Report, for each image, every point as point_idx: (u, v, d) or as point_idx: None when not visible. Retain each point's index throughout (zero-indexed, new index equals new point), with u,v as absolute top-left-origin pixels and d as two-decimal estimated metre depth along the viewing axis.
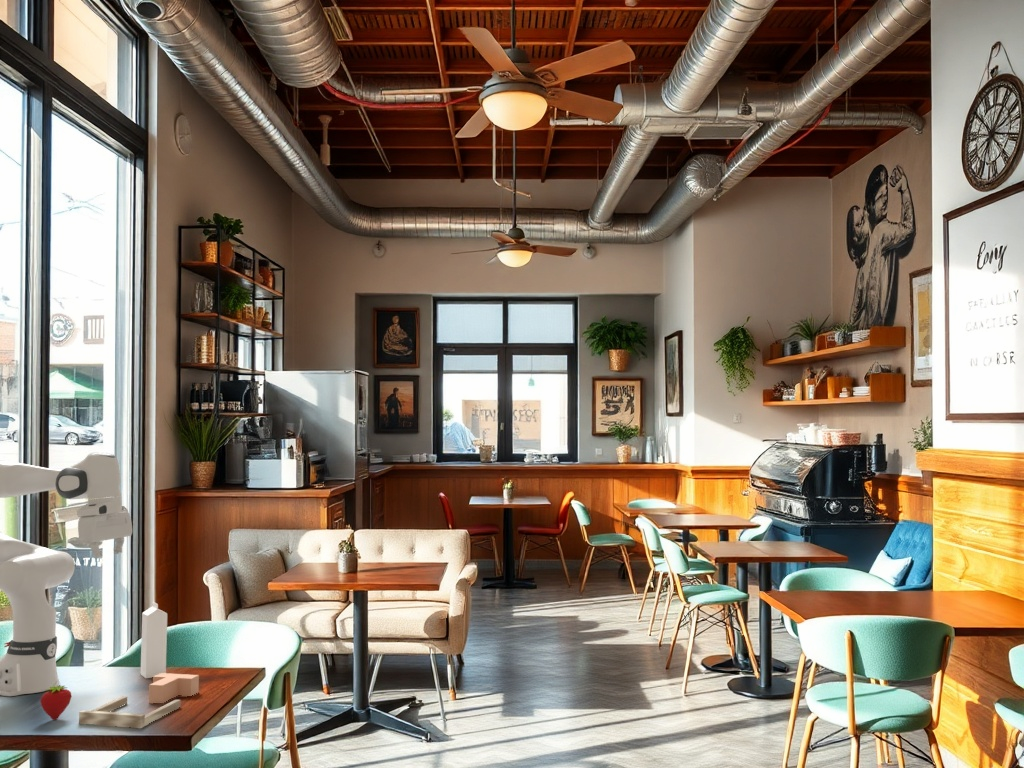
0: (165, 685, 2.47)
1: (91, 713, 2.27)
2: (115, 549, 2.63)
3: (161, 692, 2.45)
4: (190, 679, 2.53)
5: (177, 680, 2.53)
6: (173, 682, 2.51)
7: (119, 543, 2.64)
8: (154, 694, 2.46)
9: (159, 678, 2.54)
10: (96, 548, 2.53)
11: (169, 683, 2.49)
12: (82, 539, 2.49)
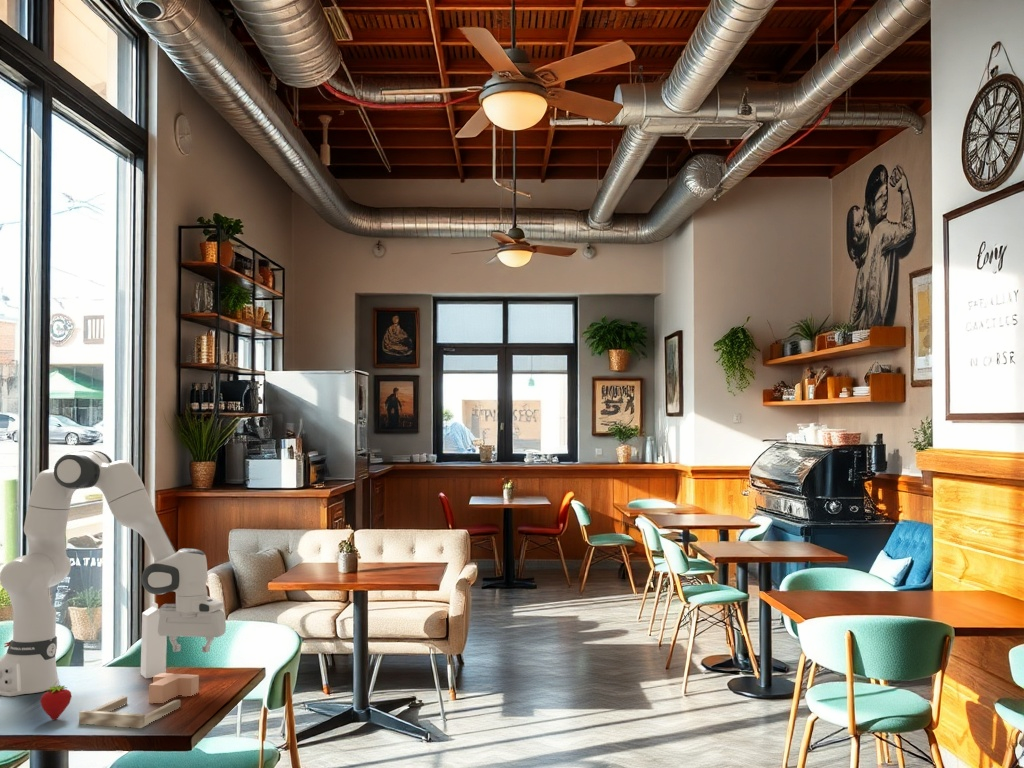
0: (165, 685, 2.47)
1: (91, 713, 2.27)
2: (178, 646, 2.63)
3: (161, 692, 2.45)
4: (190, 679, 2.53)
5: (177, 680, 2.53)
6: (173, 682, 2.51)
7: (175, 641, 2.64)
8: (154, 694, 2.46)
9: (159, 678, 2.54)
10: (211, 642, 2.62)
11: (169, 683, 2.49)
12: (221, 632, 2.60)
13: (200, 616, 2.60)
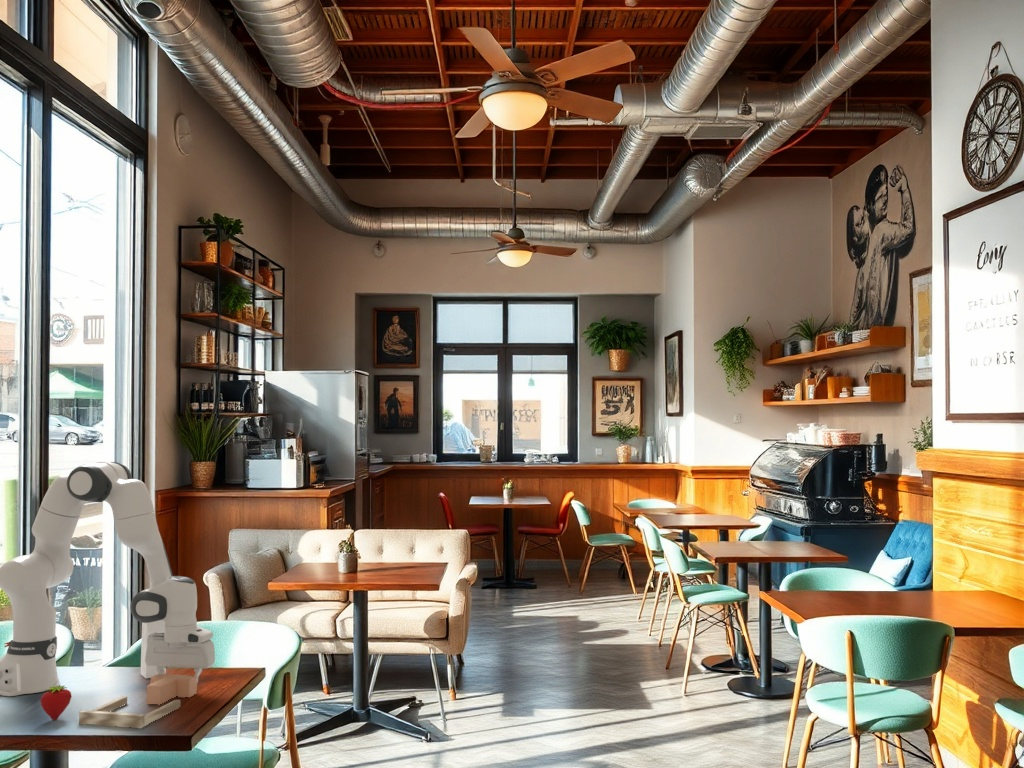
0: (163, 686, 2.46)
1: (91, 713, 2.27)
2: None
3: (159, 693, 2.44)
4: (188, 680, 2.51)
5: (175, 681, 2.51)
6: (171, 683, 2.50)
7: (162, 671, 2.58)
8: (152, 695, 2.44)
9: (157, 679, 2.53)
10: None
11: (167, 684, 2.48)
12: (210, 663, 2.55)
13: (189, 646, 2.54)
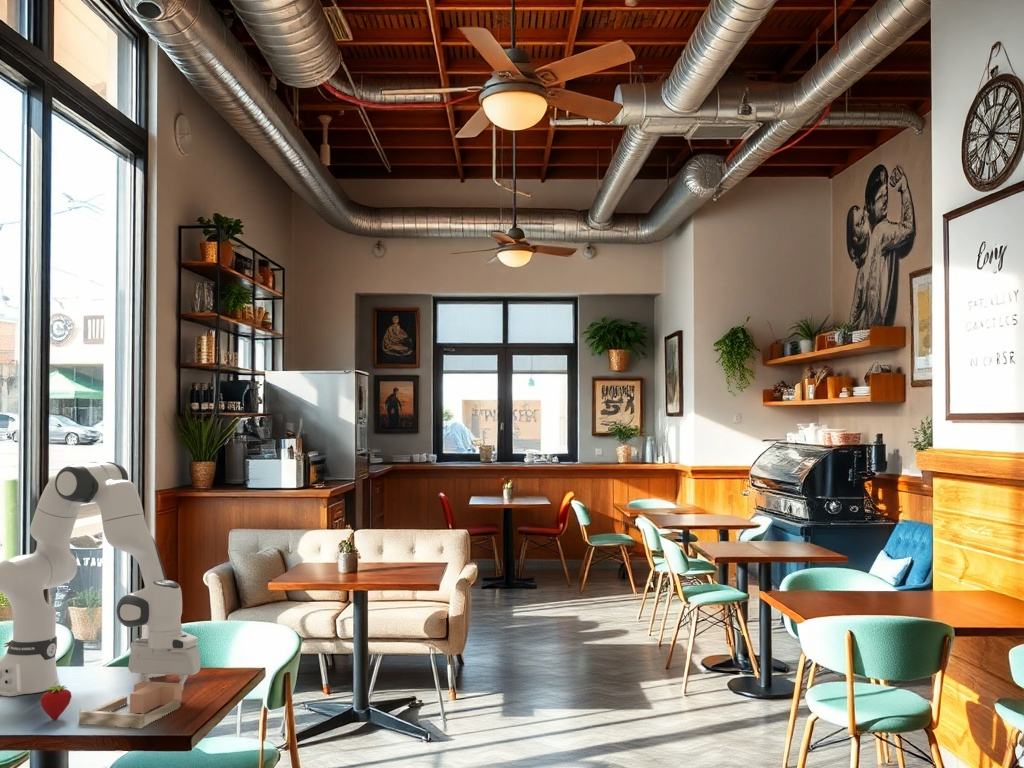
0: (147, 694, 2.38)
1: (91, 713, 2.27)
2: None
3: (142, 702, 2.36)
4: (173, 688, 2.44)
5: (159, 689, 2.44)
6: (155, 691, 2.42)
7: (146, 678, 2.50)
8: (135, 704, 2.36)
9: (140, 687, 2.45)
10: (185, 680, 2.49)
11: (151, 692, 2.40)
12: (195, 670, 2.47)
13: (174, 652, 2.47)
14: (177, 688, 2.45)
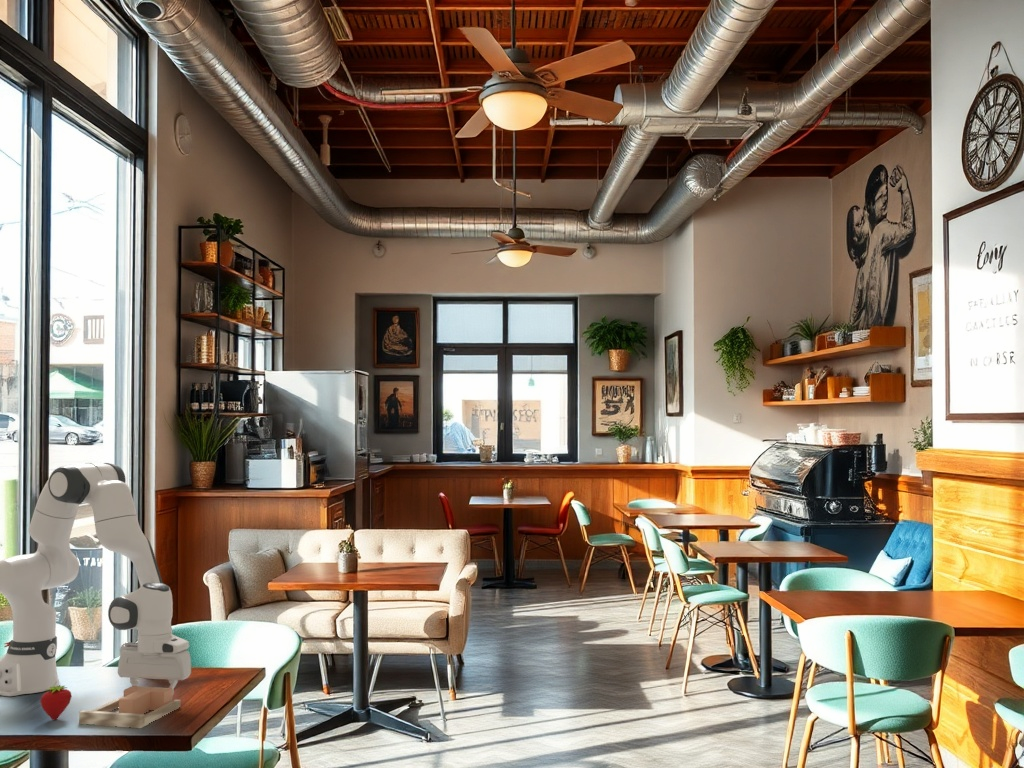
0: (136, 699, 2.33)
1: (91, 713, 2.27)
2: None
3: (131, 707, 2.31)
4: (163, 693, 2.39)
5: (149, 694, 2.39)
6: (145, 696, 2.37)
7: (136, 682, 2.46)
8: (124, 709, 2.32)
9: (130, 692, 2.40)
10: (175, 684, 2.44)
11: (140, 697, 2.35)
12: (186, 675, 2.42)
13: (164, 657, 2.42)
14: (167, 693, 2.40)
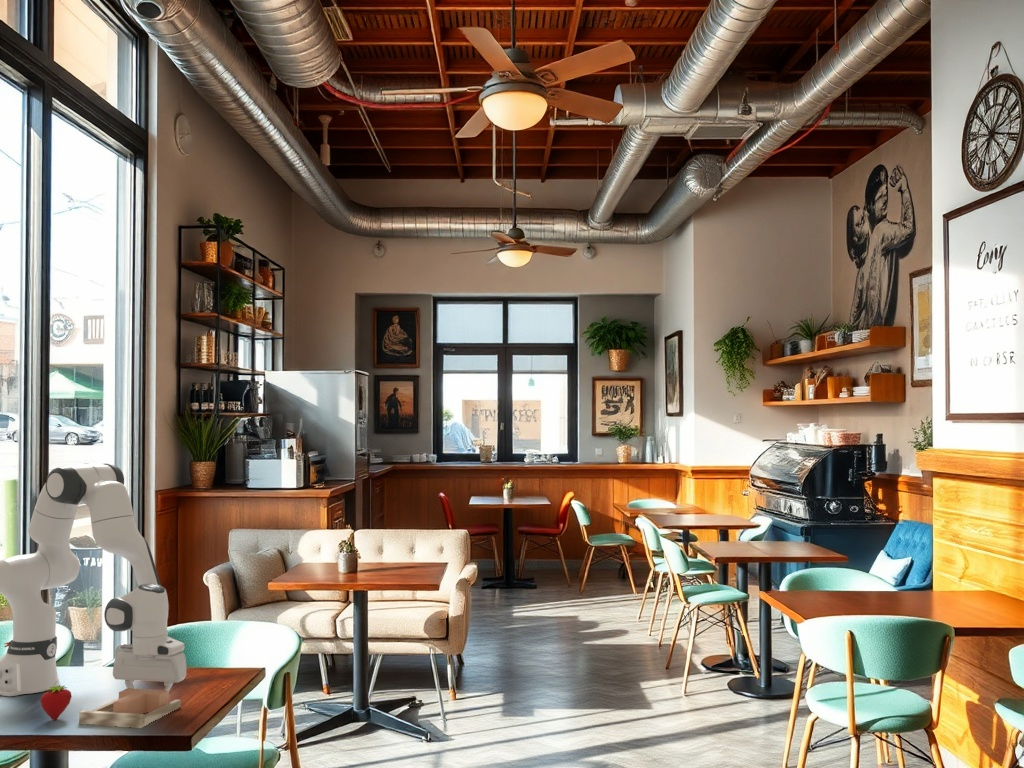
0: (131, 702, 2.31)
1: (91, 713, 2.27)
2: None
3: (126, 709, 2.29)
4: (158, 695, 2.37)
5: (144, 696, 2.37)
6: (140, 698, 2.35)
7: (131, 684, 2.44)
8: (118, 712, 2.30)
9: (125, 694, 2.38)
10: (170, 687, 2.42)
11: (135, 700, 2.33)
12: (181, 677, 2.40)
13: (159, 659, 2.40)
14: (163, 695, 2.38)
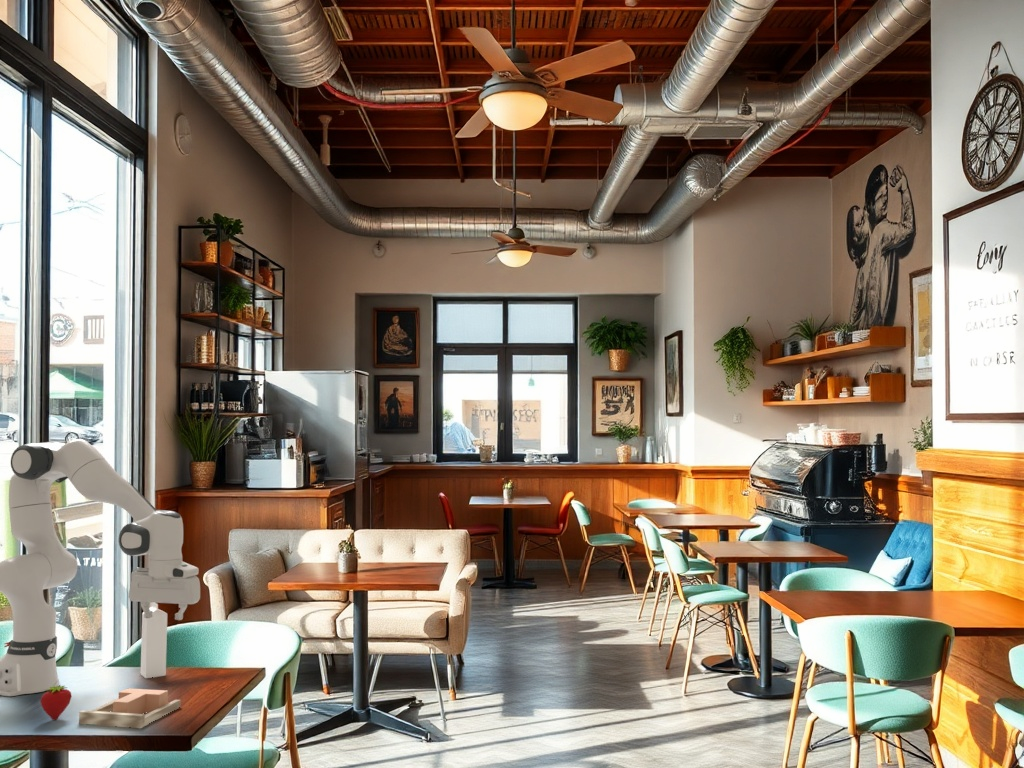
0: (131, 702, 2.31)
1: (91, 713, 2.27)
2: (149, 613, 2.50)
3: (126, 709, 2.29)
4: (158, 695, 2.37)
5: (144, 696, 2.37)
6: (140, 698, 2.35)
7: (146, 607, 2.51)
8: (118, 712, 2.30)
9: (125, 694, 2.38)
10: (184, 609, 2.50)
11: (135, 700, 2.33)
12: (195, 599, 2.48)
13: (174, 581, 2.47)
14: (163, 695, 2.38)
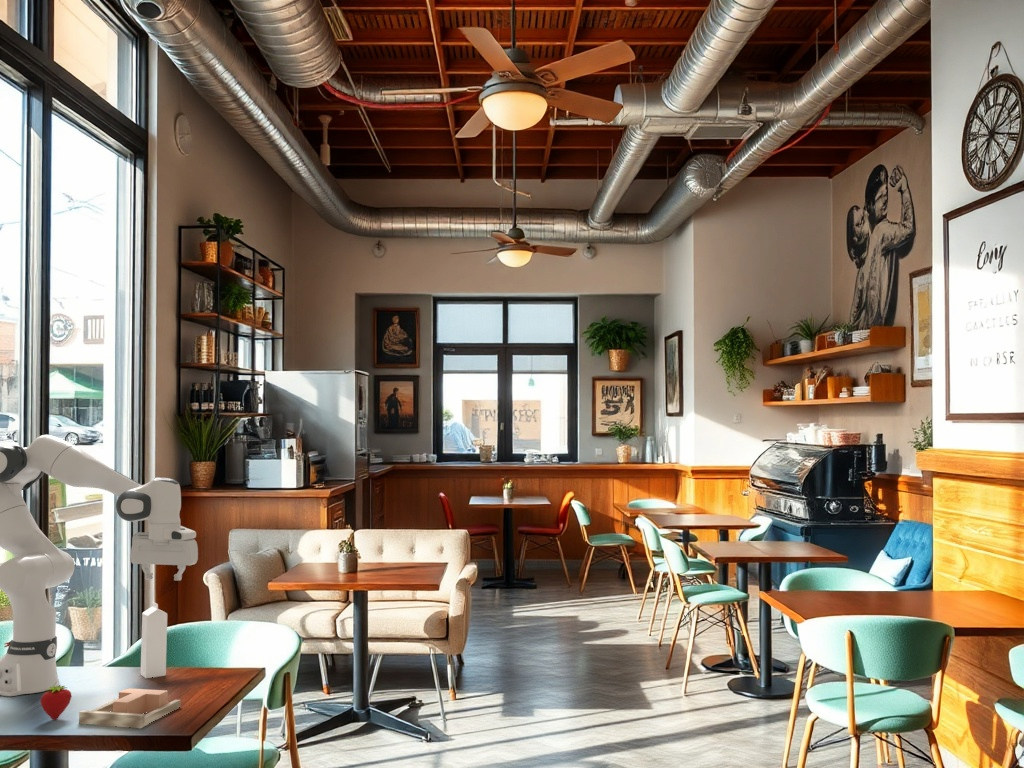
0: (131, 702, 2.31)
1: (91, 713, 2.27)
2: (150, 575, 2.64)
3: (126, 710, 2.29)
4: (158, 695, 2.37)
5: (144, 696, 2.37)
6: (140, 698, 2.35)
7: (147, 569, 2.65)
8: (118, 712, 2.30)
9: (125, 694, 2.38)
10: (183, 570, 2.63)
11: (135, 700, 2.33)
12: (193, 561, 2.61)
13: (173, 543, 2.61)
14: (163, 695, 2.38)
